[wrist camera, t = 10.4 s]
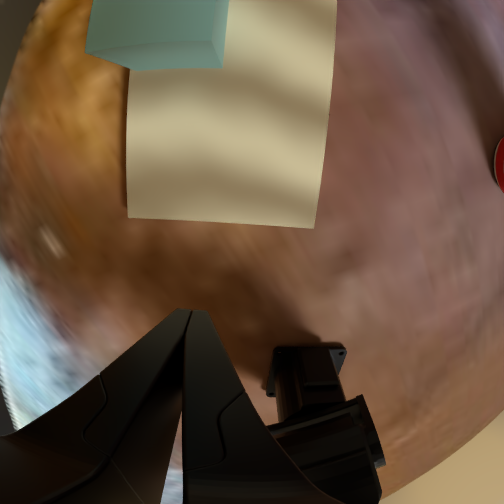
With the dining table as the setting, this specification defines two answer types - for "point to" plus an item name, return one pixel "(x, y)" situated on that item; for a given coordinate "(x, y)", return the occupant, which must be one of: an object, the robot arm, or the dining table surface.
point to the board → (237, 122)
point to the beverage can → (499, 164)
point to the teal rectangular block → (158, 33)
